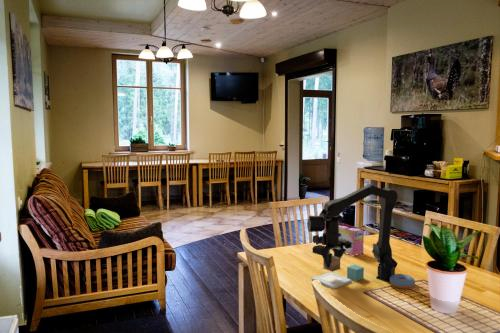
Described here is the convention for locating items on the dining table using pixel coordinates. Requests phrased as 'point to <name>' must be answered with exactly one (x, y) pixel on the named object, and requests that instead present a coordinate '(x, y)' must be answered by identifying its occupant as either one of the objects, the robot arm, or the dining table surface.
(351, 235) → the gum box
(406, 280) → the doughnut
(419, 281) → the dining table surface
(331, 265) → the walnut block
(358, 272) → the teal block
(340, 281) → the white square plate
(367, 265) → the dining table surface
